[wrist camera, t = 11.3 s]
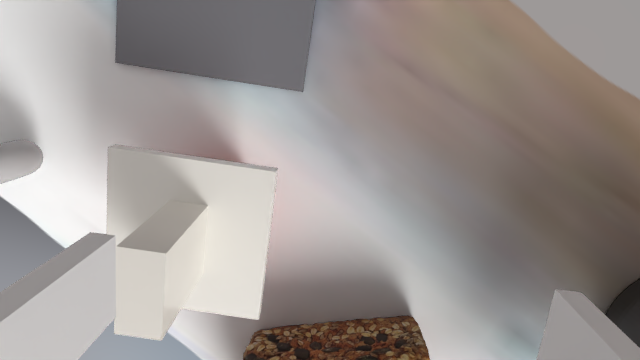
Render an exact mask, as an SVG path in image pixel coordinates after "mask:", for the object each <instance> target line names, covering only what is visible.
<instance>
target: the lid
mask: <svg viewBox="0 0 640 360" xmlns="http://www.w3.org/2000/svg"><path fill="white" fill-rule="evenodd" d="M277 174H278V168H273V167H266V166H259V165H252V164H246V163H239V162H232V161H225V160H218V159H211V158H205V157H198V156H191V155H184V154H177V153H170V152H164V151H157V150H150V149H143V148H136V147H129V146H123V145H116V144H115V145H113V146H110V147H108V169H107V233H106V234H108V235H116V318H115V319H114V334H120V335H126V336H133V337H140V338H146V339H153V340H160V341H161V340H162V339H163V337H164V336H165V334H166V333H167V331H168V329H169V328H170V326H171V324H172V323H173V321H174V320H175V318H176V316H177V315H178V313H179V312H180V310H181V309H186V310H193V311H199V312H206V313H213V314H220V315H227V316H234V317H241V318H248V319H254V320H259V317H260V313H261V307H262V299H263V290H264V282H265V274H266V265H267V257H268V249H269V240H270V232H271V224H272V215H273V207H274V199H275V190H276V182H277Z"/></svg>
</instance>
